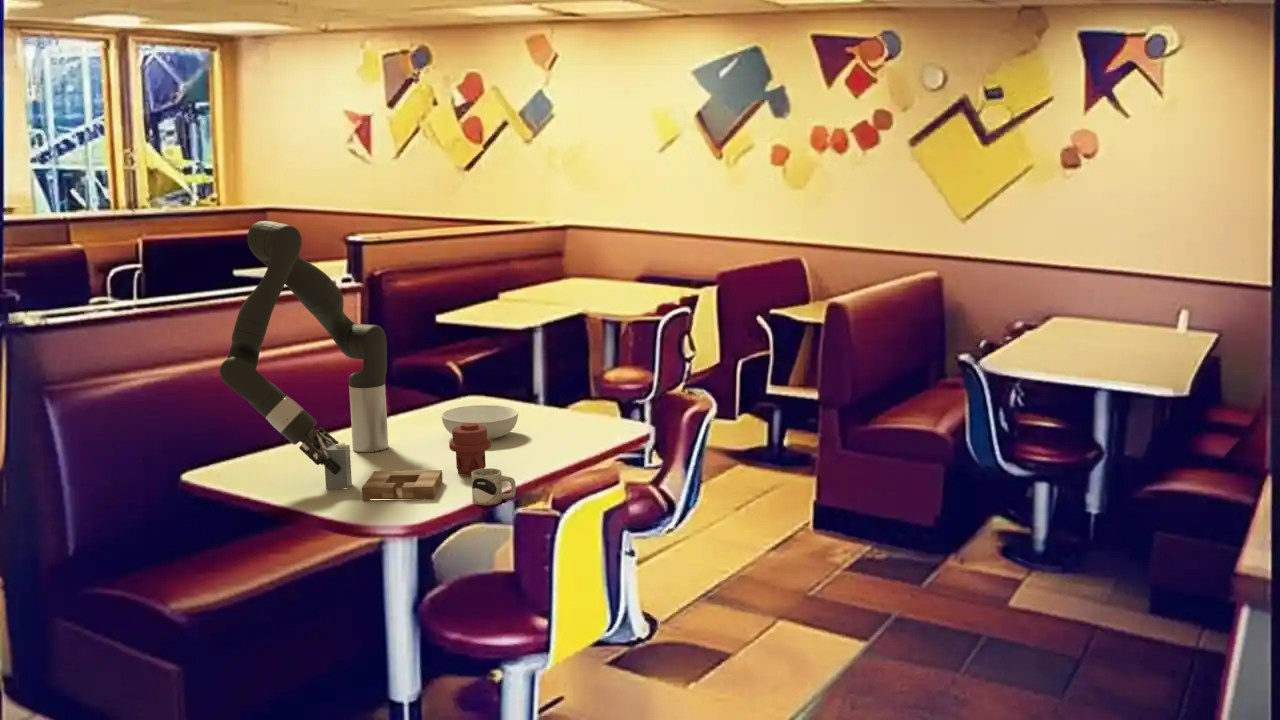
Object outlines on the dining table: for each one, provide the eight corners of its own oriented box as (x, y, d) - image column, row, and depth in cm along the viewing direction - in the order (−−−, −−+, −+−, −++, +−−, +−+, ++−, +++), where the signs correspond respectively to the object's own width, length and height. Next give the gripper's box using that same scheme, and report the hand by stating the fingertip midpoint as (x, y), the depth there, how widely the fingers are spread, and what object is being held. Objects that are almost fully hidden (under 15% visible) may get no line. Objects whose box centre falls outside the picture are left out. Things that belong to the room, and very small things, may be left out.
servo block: (330, 484, 278) (328, 442, 276) (351, 483, 278) (349, 441, 276) (326, 489, 274) (323, 446, 272) (347, 489, 274) (345, 446, 272)
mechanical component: (442, 475, 285) (472, 466, 292) (470, 481, 278) (500, 472, 286) (439, 425, 282) (470, 418, 290) (468, 431, 276) (498, 423, 284)
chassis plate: (374, 483, 278) (374, 471, 277) (442, 482, 278) (441, 470, 278) (362, 500, 264) (361, 487, 264) (433, 499, 265) (432, 486, 264)
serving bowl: (441, 448, 311) (440, 422, 310) (444, 430, 332) (442, 406, 330) (519, 444, 314) (519, 419, 313) (517, 426, 334) (517, 403, 333)
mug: (468, 504, 260) (467, 475, 259) (477, 496, 267) (476, 467, 266) (511, 506, 259) (510, 477, 258) (520, 497, 265) (519, 469, 264)
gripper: (293, 415, 265) (347, 463, 268) (309, 402, 279) (360, 448, 282) (271, 438, 266) (325, 486, 268) (288, 424, 280) (339, 470, 283)
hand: (343, 467), depth 275 cm, fingers open, 8 cm apart
